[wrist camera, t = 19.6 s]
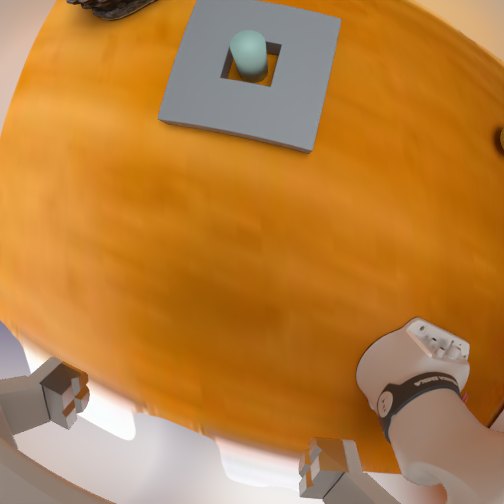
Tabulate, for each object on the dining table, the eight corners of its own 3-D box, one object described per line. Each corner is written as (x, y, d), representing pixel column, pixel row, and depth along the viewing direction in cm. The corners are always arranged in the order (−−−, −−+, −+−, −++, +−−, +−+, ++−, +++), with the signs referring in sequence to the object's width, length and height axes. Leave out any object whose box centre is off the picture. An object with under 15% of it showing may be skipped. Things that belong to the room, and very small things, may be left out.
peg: (270, 61, 36) (269, 33, 28) (264, 85, 37) (260, 61, 29) (242, 56, 37) (234, 27, 28) (235, 80, 37) (225, 55, 29)
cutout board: (336, 31, 34) (341, 19, 31) (308, 153, 39) (312, 150, 35) (204, 8, 35) (198, -5, 31) (167, 124, 39) (157, 119, 36)
